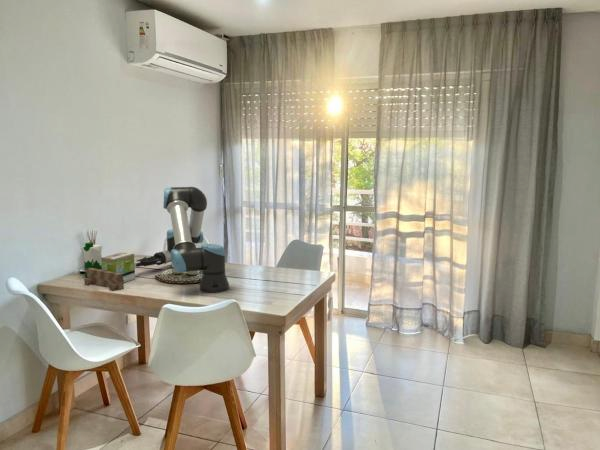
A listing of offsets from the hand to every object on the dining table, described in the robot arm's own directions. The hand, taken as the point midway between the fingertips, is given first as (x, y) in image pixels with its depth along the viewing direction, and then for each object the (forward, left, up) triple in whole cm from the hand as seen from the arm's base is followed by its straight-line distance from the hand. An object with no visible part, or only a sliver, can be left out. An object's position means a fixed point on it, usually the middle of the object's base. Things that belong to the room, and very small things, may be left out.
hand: (130, 266), depth 266 cm
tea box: (0, +8, -7) cm, 11 cm away
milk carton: (+21, +8, -7) cm, 24 cm away
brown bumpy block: (0, +19, -7) cm, 20 cm away
